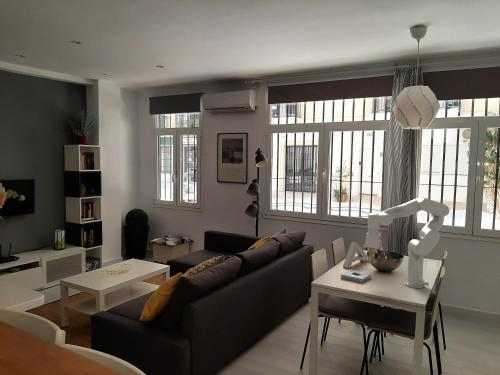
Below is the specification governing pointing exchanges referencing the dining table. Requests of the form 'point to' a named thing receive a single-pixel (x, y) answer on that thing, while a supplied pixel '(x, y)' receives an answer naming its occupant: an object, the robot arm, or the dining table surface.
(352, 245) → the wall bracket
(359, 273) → the rosette plate
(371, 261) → the locking peg
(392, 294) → the dining table surface
